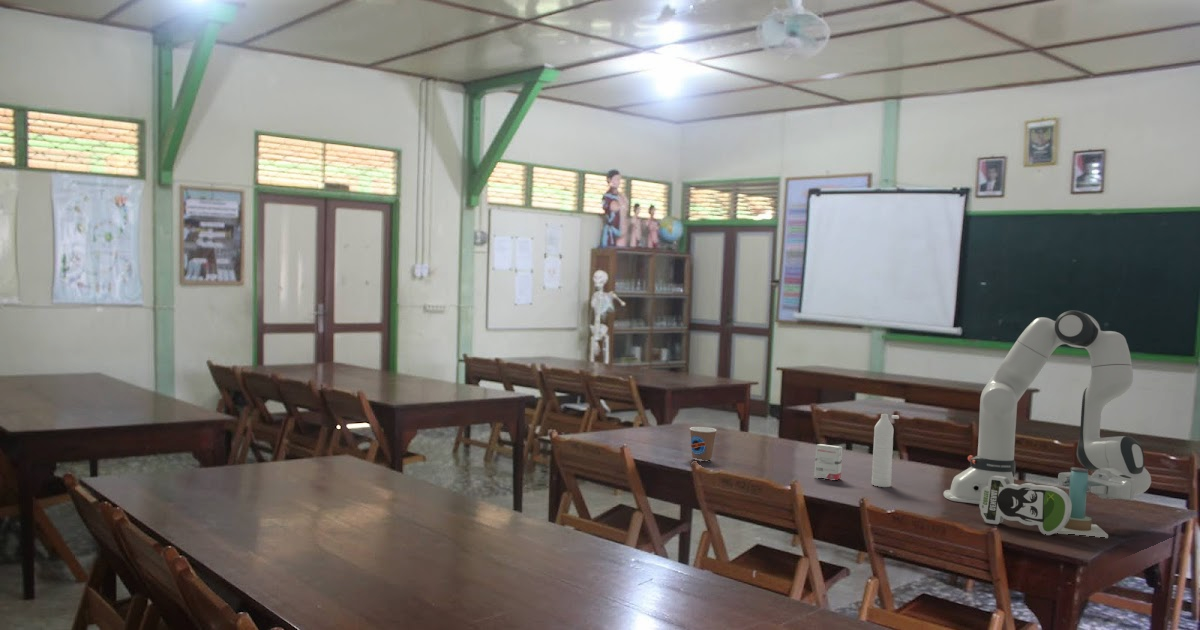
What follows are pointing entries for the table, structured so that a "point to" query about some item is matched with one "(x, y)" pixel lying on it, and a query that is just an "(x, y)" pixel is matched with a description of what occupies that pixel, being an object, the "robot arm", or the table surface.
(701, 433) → the coffee cup
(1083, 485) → the tube
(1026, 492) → the cutout
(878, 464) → the water bottle
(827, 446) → the ink box
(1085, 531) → the display stand
